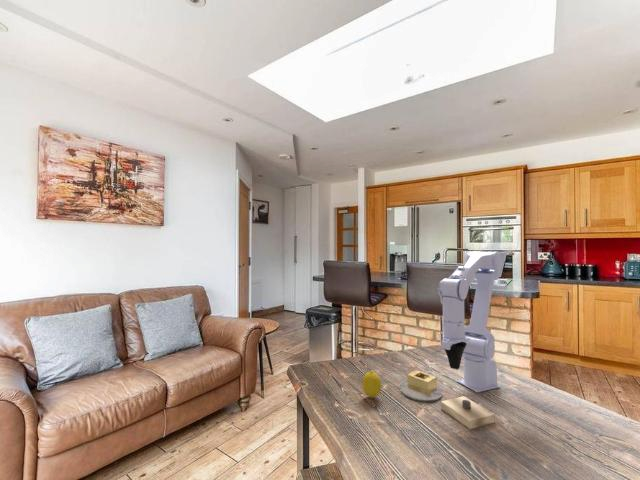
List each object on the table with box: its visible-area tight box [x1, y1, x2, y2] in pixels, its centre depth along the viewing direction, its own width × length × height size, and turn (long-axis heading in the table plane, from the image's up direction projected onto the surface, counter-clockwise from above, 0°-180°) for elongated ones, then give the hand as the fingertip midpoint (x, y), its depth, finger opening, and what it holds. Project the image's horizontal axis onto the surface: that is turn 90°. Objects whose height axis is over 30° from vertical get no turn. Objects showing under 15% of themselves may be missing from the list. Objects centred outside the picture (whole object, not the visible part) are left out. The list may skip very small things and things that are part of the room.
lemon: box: [362, 370, 382, 399], centre depth 90 cm, size 6×6×8 cm
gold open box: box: [406, 369, 438, 396], centre depth 93 cm, size 5×7×4 cm
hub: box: [400, 377, 443, 403], centre depth 94 cm, size 12×12×4 cm
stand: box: [440, 395, 495, 430], centre depth 80 cm, size 8×10×4 cm
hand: (454, 368), depth 87 cm, fingers closed
